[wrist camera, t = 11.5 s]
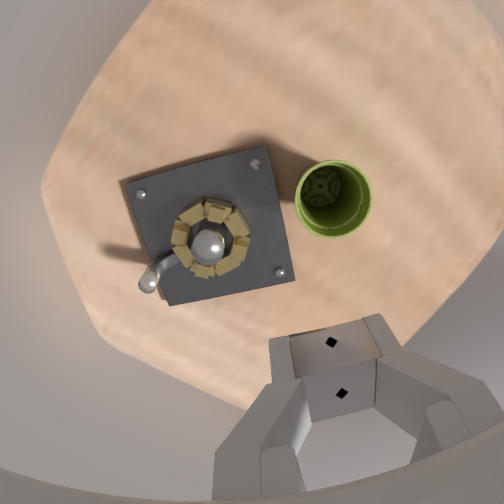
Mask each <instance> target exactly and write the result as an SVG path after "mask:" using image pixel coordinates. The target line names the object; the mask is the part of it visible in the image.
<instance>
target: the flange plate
mask: <svg viewBox="0 0 504 504" xmlns="http://www.w3.org/2000/svg"><path fill="white" fill-rule="evenodd" d="M125 186H126V189H127V192H128V195H129V199H130V202H131V205H132V208H133V211H134V214H135V217H136V220H137V222H138V225H139V228H140V231H141V234H142V237H143V240H144V242H145V245H146V248H147V251H148V253H149V256H150V259H151V261H152V260H161V259H163V258H164V257H166V256H168V255H169V254H171V253H173V252H174V250H173V249H172V247H173V246H174V244H171V238H172V233H173V228H174V225H175V220H176V219H177V217H178V216H179V214H180V213H181V211H182V210H184V209H185V208H187V207H189V206H190V205H192V204H194V203H195V202H197V201H199V200H200V199H202V198H203V199H204V201H205V202H206V200H207V198H208V197H209V198H213V199H217V200H221V201H225V202H229V203H233V205H232V209H233V208H235V207H237V208H238V209H239V211H240V213H241V214H242V216H243V218H244V219H245V221H246V223H247V224H248V226H249V231H250V241H249V245H248V249H247V252H246V256H245V259H244V262H243V261H241V262H240V266H238V267H236V268H234V269H232V270H230V271H228V272H226V273H225V274H223V275H221V276H218V274H217V273H216V271H215V275H214V277H212V276H208V279H205V278H201V277H197V276H195V272H192V271H190V269H191V266H189V267H187V268H185V266H184V265H183V263H182V262H181V261H180V262H179V263H177V264H175V265H173V266H171V267H170V268H168V269H166V270H164V272H163V274H162V276H161V278H160V280H159V282H160V285H161V287H162V290H163V292H164V295H165V297H166V300H167V302H168V305H169V306H174V305H179V304H184V303H190V302H195V301H200V300H205V299H210V298H215V297H220V296H225V295H230V294H235V293H240V292H245V291H250V290H254V289H259V288H264V287H269V286H273V285H278V284H282V283H287V282H292V281H295V276H294V271H293V266H292V261H291V256H290V251H289V246H288V241H287V236H286V231H285V226H284V221H283V217H282V212H281V207H280V202H279V198H278V193H277V189H276V184H275V179H274V175H273V170H272V166H271V162H270V157H269V153H268V148H267V146H266V145H265V146H261V147H256V148H252V149H248V150H243V151H239V152H235V153H231V154H227V155H223V156H219V157H215V158H211V159H207V160H203V161H199V162H196V163H192V164H188V165H185V166H181V167H178V168H174V169H171V170H167V171H164V172H161V173H157V174H154V175H151V176H148V177H144V178H141V179H138V180H135V181H132V182H129V183H127V184H125ZM189 238H190V240H191V241H192V246H191V253H192V256H193V258H194V259H195V260H196V261H197V262H198V263H200V264H202V265H207V266H208V265H214V264H216V263H218V262H219V261H220V260H221V258H222V256H223V252H224V251H226V250H227V249H229V248H231V245H232V241H233V235H232V233H231V232H230V230H229V229H228V227H227V225H226V224H225V222H222V224H220V223H216V222H212V221H208V218H204V219H202V220H201V221H199V222H197V223H195V224H194V225H192V226H191V231H190V235H189Z"/></svg>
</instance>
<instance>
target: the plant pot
mask: <svg viewBox="0 0 504 504" xmlns="http://www.w3.org/2000/svg"><path fill="white" fill-rule="evenodd" d="M317 168H324V169H326V171H322V170H318V171H317V170H316V169H317ZM304 180H305V190H303V189H302V185H303V182H304ZM335 182H337V185H338V188H337V190H336V191H334V190H335V184H336V183H335ZM319 185H322V188H319ZM315 201H324V202H323V203H315ZM371 207H372V190H371V186H370V183H369V181H368V179H367V177H366V176H365V174H364V173H363V172H362V171H361V170H360V169H359V168H357V167H356V166H355V165H353V164H351V163H348V162H346V161H341V160H328V161H324V162H321V163H318V164H316V165H313V166H311V167H309V168H308V169H306V170H305V171H304V172H303V174H302V175H301V177H300V180H299V183H298V185H297V188H296V192H295V208H296V213H297V216H298V218H299V220H300V222H301V223H302V224H303V226H304V227H305V228H306V229H307V230H308V231H309V232H311V233H312V234H314V235H316V236H318V237H321V238H325V239H339V238H343V237H346V236H348V235H350V234H352V233H354V232H355V231H357V230H358V229H359V228H360V227H361V226H362V225H363V224H364V222H365V221H366V219H367V218H368V216H369V213H370V211H371Z"/></svg>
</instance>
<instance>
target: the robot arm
mask: <svg viewBox="0 0 504 504" xmlns="http://www.w3.org/2000/svg"><path fill="white" fill-rule="evenodd" d="M289 340H290V341H289ZM269 353H270V364H271V375H272V383H271V384H266V386H265V387H264V388H263V390H262V391H261V393H260V394H259V395H258V397H257V398H256V399H255V401H254V402H253V404H252V405H251V406H250V408H249V409H248V410H247V412H246V413H245V414H244V416H243V417H242V418H241V420H240V421H239V422H238V423H237V425H236V426H235V427H234V429H233V430H232V431H231V433H230V434H229V435H228V436H227V438H226V439H225V440H224V441H223V443H222V444H221V445H220V446H219V448H218V449H217V450H216V452H215V459H214V472H213V473H214V474H213V487H212V501H168V500H152V499H140V498H130V497H121V496H113V495H107V494H101V493H95V492H89V491H83V490H79V489H74V488H69V487H64V486H60V485H56V484H52V483H49V482H45V481H41V480H37V479H34V478H31V477H27V476H24V475H21V474H18V473H15V472H12V471H9V470H6V469H3V468H0V504H504V411H503V409H502V408H501V406H500V405H499V403H498V402H497V400H496V399H495V398H494V396H493V394H492V393H491V391H490V390H489V389H488V387H487V386H486V384H485V383H484V381H482V380H479V379H477V378H475V377H472V376H470V375H467V374H465V373H463V372H460V371H458V370H456V369H453V368H451V367H449V366H447V365H444V364H442V363H440V362H437V361H435V360H433V359H430V358H428V357H426V356H424V355H421V354H419V353H416V352H414V351H412V350H410V349H407V350H403V349H402V347H401V345H400V344H399V342H398V340H397V339H396V337H395V335H394V334H393V332H392V330H391V329H390V327H389V326H388V324H387V322H386V321H385V319H384V317H383V316H382V314H380V313H377V314H374V315H371V316H367V317H364V318H362V319H359V320H355V321H351V322H347V323H343V324H339V325H335V326H331V327H327V328H322V329H317V330H312V331H307V332H302V333H297V334H292V335H289V337H288V336H283V337H277V338H272V339H269ZM373 407H375V409H376V410H378V411H379V412H380V413H382V414H383V415H384V416H385V417H387V418H388V419H389V420H391V421H392V422H394V423H395V424H396V425H398V426H399V427H400V428H402V429H403V430H405V431H406V432H407V433H409V434H410V435H412V436H413V437H414V438H416V439H417V443H416V446H415V449H414V452H413V455H412V458H411V461H410V464H408V465H405V466H402V467H399V468H397V469H394V470H390V471H387V472H384V473H381V474H378V475H375V476H371V477H367V478H364V479H360V480H357V481H353V482H349V483H345V484H340V485H336V486H332V487H327V488H322V489H317V490H312V491H306V489H305V485H304V481H303V478H302V474H301V471H300V468H299V464H298V461H297V457H296V456H297V454H298V452H299V450H300V448H301V446H302V444H303V442H304V440H305V438H306V436H307V434H308V431H309V429H310V427H311V423H313V422H317V421H321V420H326V419H330V418H334V417H337V416H341V415H345V414H349V413H353V412H358V411H362V410H365V409H369V408H373Z"/></svg>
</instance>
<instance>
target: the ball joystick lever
mask: <svg viewBox="0 0 504 504" xmlns="http://www.w3.org/2000/svg"><path fill="white" fill-rule="evenodd" d="M232 205H233V203H229V202H225V201H221V200H217V199H213V198H209V197H208V198H207V200H206V202H205V201H204V199H203V198H202V199H200V200H199V201H197V202H195V203H194V204H192V205H190V206H189V207H187V208H185V209H184V210H182V211H181V213H180V214H179V216H178V217H177V219H176V220H175V225H174V228H173V233H172V238H171V244H174V246H173V247H172V249H173V250H174V252H173V253H171V254H169V255H168V256H166V257H164V258H163V259H161V260H152V261H151V262H150V264H149V265H148V267H147V268H146V270H145V272H144V273H143V275H142V277H141V278H140V280H139V282H138V286H139V289H140V290H141V291H142V292H144V293H147V294H150V293H152V292H154V290H155V288H156V286H157V284H158V282H159V280H160V278H161V276H162V274H163V272H164V270H166V269H168V268H170V267H171V266H173V265H175V264H177V263H179V262H180V261H181V262H182V263H183V265H184V266H185V268H187V267H189V266H191V269H190V271H192V272H195V276H197V277H201V278H205V279H208V276H212V277H214V275H215V271H216V273H217V274H218V276H221V275H223V274H225V273H226V272H228V271H230V270H232V269H234V268H236V267H238V266H240V262H241V261H243V262H244V259H245V256H246V252H247V249H248V245H249V241H250V231H249V226H248V224H247V223H246V221H245V219H244V218H243V216H242V214H241V213H240V211H239V209H238V208H237V207H235V208H233V209H232ZM204 218H208V221H212V222H216V223H220V224H222V222H225V224H226V225H227V227H228V229H229V230H230V232H231V233H232V235H233V241H232V245H231V248H229V249H227V250H226V251H224V252H223V256H222V258H221V260H220V261H219V262H218V263H216V264H214V265H208V266H207V265H202V264H200V263H198V262H197V261H196V260H195V259H194V258H193V256H192V253H191V246H192V241H191V240H190V238H189V235H190V231H191V226H192V225H194V224H195V223H197V222H199V221H201V220H202V219H204Z"/></svg>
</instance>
